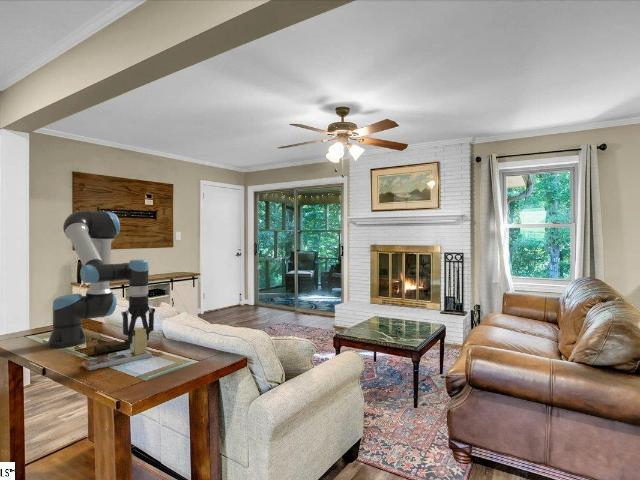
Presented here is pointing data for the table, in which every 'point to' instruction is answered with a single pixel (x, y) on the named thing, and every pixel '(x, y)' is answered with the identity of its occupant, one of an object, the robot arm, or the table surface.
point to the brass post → (139, 341)
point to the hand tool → (111, 347)
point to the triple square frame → (113, 360)
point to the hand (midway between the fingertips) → (138, 349)
